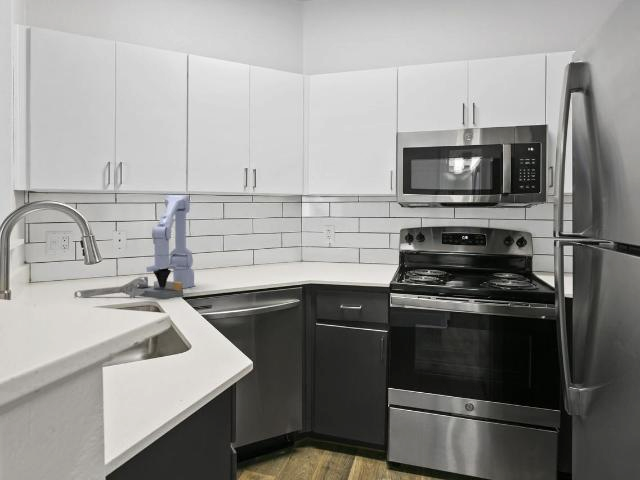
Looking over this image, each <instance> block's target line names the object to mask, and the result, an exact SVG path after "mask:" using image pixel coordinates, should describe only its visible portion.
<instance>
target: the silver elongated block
mask: <svg viewBox="0 0 640 480" xmlns="http://www.w3.org/2000/svg"><path fill="white" fill-rule="evenodd" d="M153 286H154V289H171V290H177V291H180V290H183V289H182V282H173V281H169V280H167V282H166V286H165V287H159V283H158V280H155V281H153Z"/></svg>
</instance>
